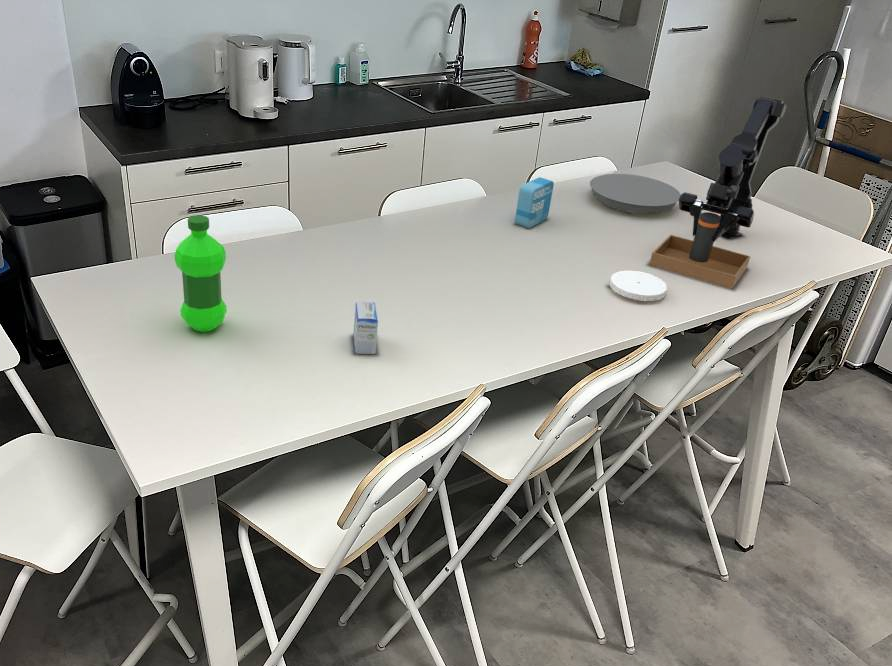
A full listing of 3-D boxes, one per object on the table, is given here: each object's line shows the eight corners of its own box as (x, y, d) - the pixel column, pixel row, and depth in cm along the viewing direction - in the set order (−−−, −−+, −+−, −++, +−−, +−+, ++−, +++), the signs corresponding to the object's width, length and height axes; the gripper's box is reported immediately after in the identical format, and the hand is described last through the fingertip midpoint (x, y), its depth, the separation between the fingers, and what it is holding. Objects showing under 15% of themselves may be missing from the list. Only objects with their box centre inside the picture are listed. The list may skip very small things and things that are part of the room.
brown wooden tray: (667, 247, 241) (670, 234, 239) (746, 269, 231) (750, 256, 229) (649, 265, 229) (652, 252, 227) (731, 289, 220) (735, 276, 218)
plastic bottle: (231, 335, 185) (227, 227, 171) (182, 339, 182) (174, 230, 168) (225, 313, 193) (221, 208, 179) (177, 317, 190) (169, 211, 176)
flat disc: (575, 186, 279) (578, 172, 277) (657, 187, 282) (660, 174, 280) (603, 219, 256) (606, 205, 253) (691, 220, 259) (695, 206, 257)
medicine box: (353, 335, 188) (354, 300, 183) (373, 336, 188) (375, 301, 184) (355, 354, 181) (357, 318, 177) (376, 354, 182) (378, 319, 177)
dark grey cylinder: (697, 252, 229) (709, 210, 223) (712, 260, 226) (725, 218, 219) (684, 256, 227) (696, 213, 220) (699, 264, 223) (711, 221, 217)
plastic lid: (674, 304, 211) (677, 294, 210) (621, 305, 208) (623, 296, 207) (650, 278, 222) (652, 270, 221) (600, 279, 220) (602, 270, 219)
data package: (526, 229, 245) (533, 189, 239) (513, 225, 247) (519, 185, 241) (547, 218, 253) (554, 179, 247) (534, 214, 255) (541, 175, 249)
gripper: (690, 162, 221) (666, 214, 219) (764, 179, 212) (740, 234, 211) (691, 183, 230) (668, 233, 229) (761, 200, 222) (739, 253, 221)
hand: (703, 238), depth 222 cm, fingers closed on dark grey cylinder, 5 cm apart
